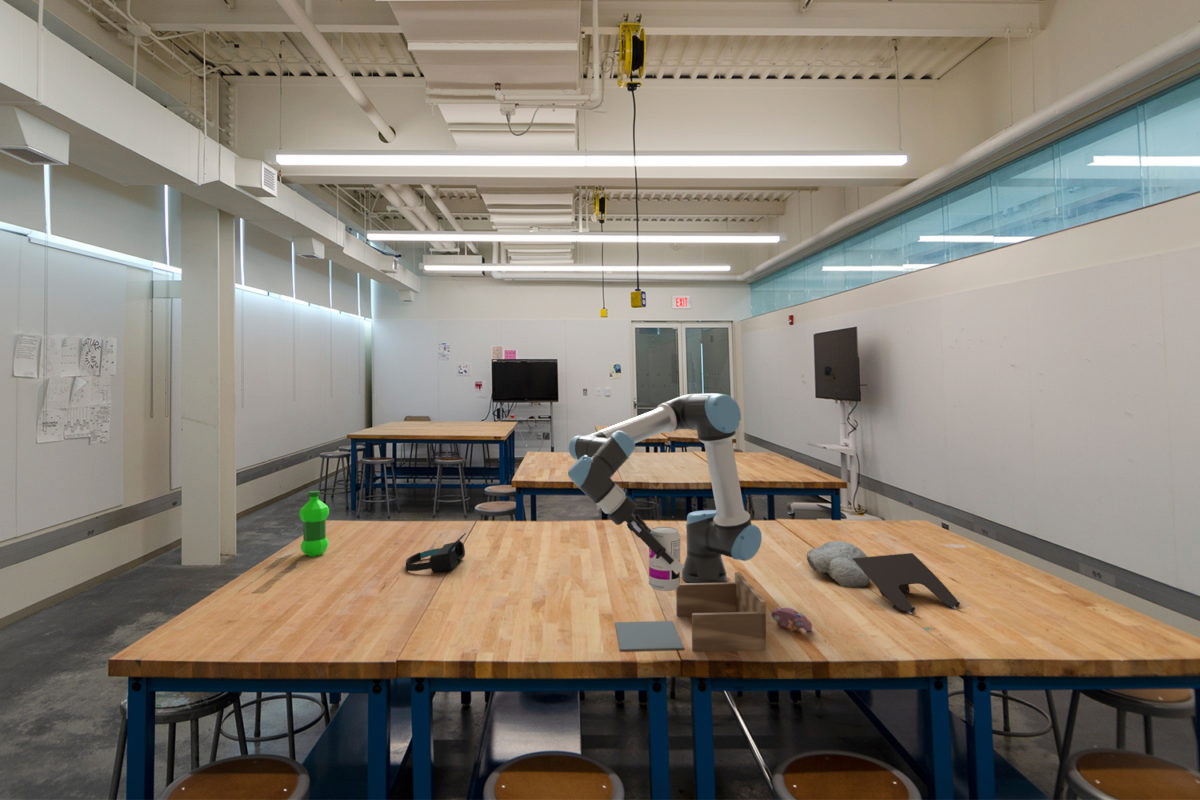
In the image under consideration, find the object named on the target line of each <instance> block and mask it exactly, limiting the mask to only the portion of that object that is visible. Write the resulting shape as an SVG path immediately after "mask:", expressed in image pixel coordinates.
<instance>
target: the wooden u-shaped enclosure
mask: <svg viewBox="0 0 1200 800" xmlns="http://www.w3.org/2000/svg"><path fill="white" fill-rule="evenodd" d="M675 590H676V591H675V593H676V596H675V597H676V599H675V601H676V603H675V605H676V606H675V607H676V608H675V609H676V611H675V612H676V613H675V614H676V616H677V617H691V641H692V642H691V650H692V652H712V651H714V652H717V651H718V652H719V651H722V652H723V651H757V650H758V651H759V650H761V651H763V650H766V649H767V647H766V646H767V640H766V639H767V633H766V631H767V619H766V617H767V612H766V611H767V608H766V607H767V601H766V600H765V599H764V598H763V597H762V596H761V594H759V592H758V591H757V590H756V589H755V588H754V587H753V586H752V585H751V583H750V582H749V581H748V580H747V579H746V578H745V577H744V575H742V574H741V572H739V571H734V582H725V583H688V582H684V583H681V582H680V586H679V587H678V588H677V589H675Z"/></svg>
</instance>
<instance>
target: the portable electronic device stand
mask: <svg viewBox="0 0 1200 800" xmlns="http://www.w3.org/2000/svg"><path fill="white" fill-rule="evenodd" d="M853 560H854V561H855V562H856V563H857V564H858V566H859V567H860V568H861V569H862V571H863V572H864V573H865V574H866V575H867V576H868V578H869V581H870V582H872V584H873V585H874V586H876V588H877V589H878V590H879V591H878V592H879V593H880V594H881V595H882V596H885V598H886V599H887V600H889V601H890V603H892V608H894V609H896V610H897V611H899V610H901V611H902V612H903V611H904V612H906V613H907V614H909V615H913V614H914V611H915V610H916V607H915V606H913V605H912V604H911V602H910V601H909V599H908V598H907V597H906V595H905V594H910V592H911V590H910V587H909V586H910V585H914V584H915V585H918V584H919V585H923V587H926V589H928V590H929V591H930V592H931V593H932V594H933V595H934V596H935V597H936V598H937V599H938V600H940V602H942V603H944V605H946V606H948V607H950V608H952V609H953V610H957V609H958V608H959V606H960V604H961V603H960V601H958V599H957V598H956V596H954V594H953V593H952V591H950V590H949V588H948V587H946V585H945V584H944V583H943V582H942V581H941V580H940V579H939V578H938V577H937V576H936V575H935V574H934V572H932V571H931V570H930V569H929V568H928V567H927V565H926V564H924V563H923V562H922V561H921V560H920V559H919V558H918V557H917V556H916V555H915V554H914V553H913V552H908V553H907V552H906V553H896V554H895V553H894V554H886V555H875V556H874V555H873V556H867V557H861V558H853Z"/></svg>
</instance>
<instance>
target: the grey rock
mask: <svg viewBox="0 0 1200 800" xmlns="http://www.w3.org/2000/svg"><path fill="white" fill-rule="evenodd" d="M861 557H868V556H867V555H866V553H865V552H864V551H863V550H862V549H861V548H859V547H858V546H856V545H855V544H853V543H851V542H847V541H842V540H833V541H828V542H825V543H824V544H822V545H821V546H818V547H813V548H811V549H810V550H809V551H807V553H806V560H807V563H808V566H810V567H809V568H811V569H812V570H813V571H816V572H818V573H819V572H820V573H823V574H824V573H825V574H828V575H829V577H830V578H832V579H833V580H834V581H835V582H837V583H838V585H839V586H840V587H846V588H847V587H848V588H865V587H867V586H868V585H869V584H870V583H869V582H870V579H869V578H868V576H867V575H866V574H865V573H864V572H863V571H862V569H861V568H860V567H859V566H858V564H857V563H856V562H855V561H854V560H853V558H861Z"/></svg>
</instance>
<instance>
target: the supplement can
mask: <svg viewBox="0 0 1200 800" xmlns="http://www.w3.org/2000/svg"><path fill="white" fill-rule="evenodd" d="M650 533H651V534H652V535H653V536H654V537H655V539H656V540H657V541H658V542H659V543H660V544H661V545H662V546H663V547H665V548H666V549H667V550H668V551H669V552H670V553H671V554H672V555H673V556H674V557H675V558H676V559H677V560H678V561H679V562H680V563H681V535H680V533H679V530H678V529H677V528H674V527H670V526H657V527H656V526H655V527H652V528H651V532H650ZM659 550H660V549H659ZM659 550H658V551H659ZM658 551H657V552H658ZM680 583H681V571H680V572H679V573H678V574H676V573H675V572H674V571H673V570H672V569H671V568H670V567H669V566H668V565H667V564H666V563H665V562H664V561H663V560H662V559H661V558H660V557H659V558H658V559H657V558H656V554H655V553H654V552H653V551H652V550H651V549H650V548H649V547H648V585H649V586H650V588H652V589H654V590H656V591H660V592H670V591H675V590H676V589H677V588H678V587H679V586H680Z"/></svg>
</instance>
